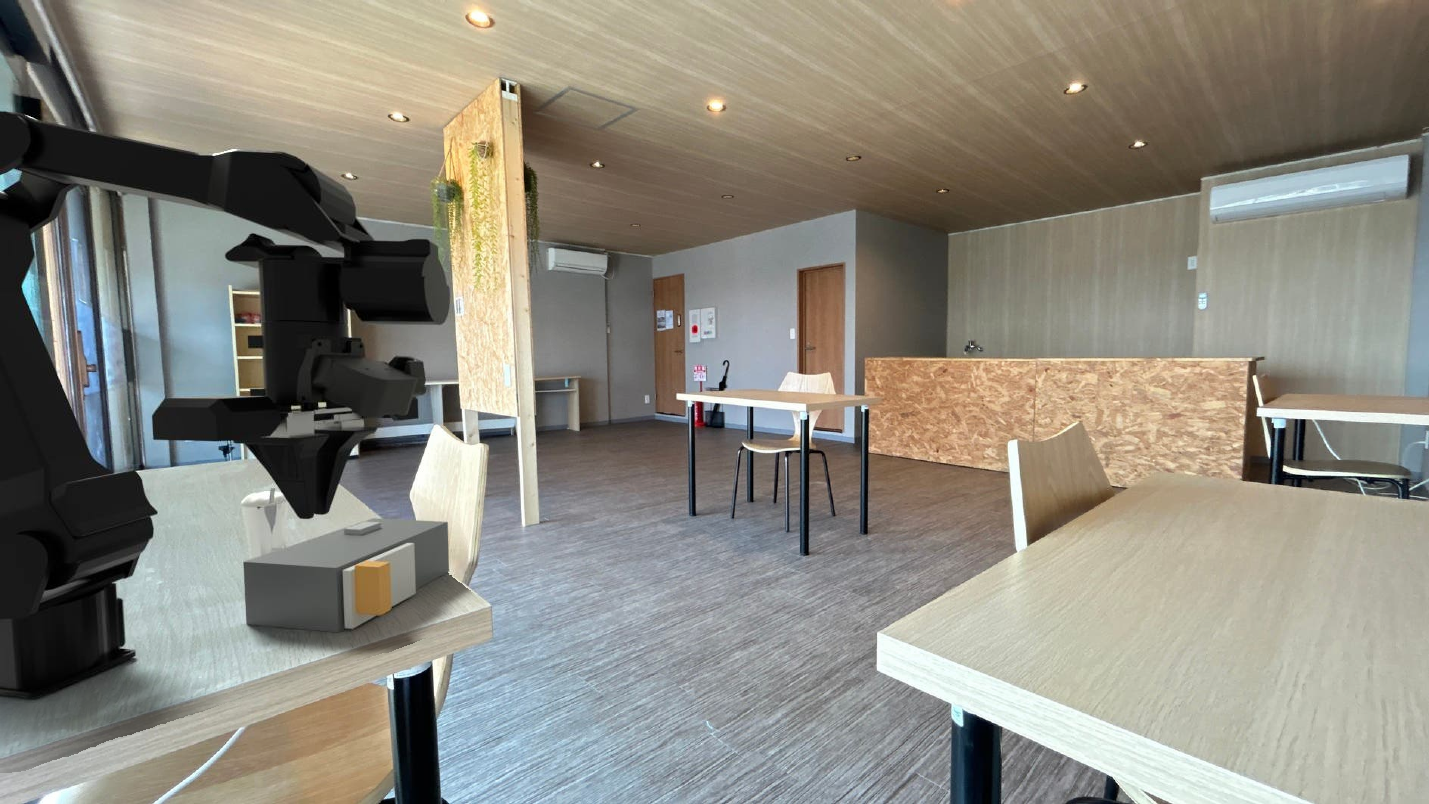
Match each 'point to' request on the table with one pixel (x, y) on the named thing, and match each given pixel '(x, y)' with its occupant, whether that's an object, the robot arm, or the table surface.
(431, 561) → the block
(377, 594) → the side door
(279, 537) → the milkshake
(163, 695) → the table surface
